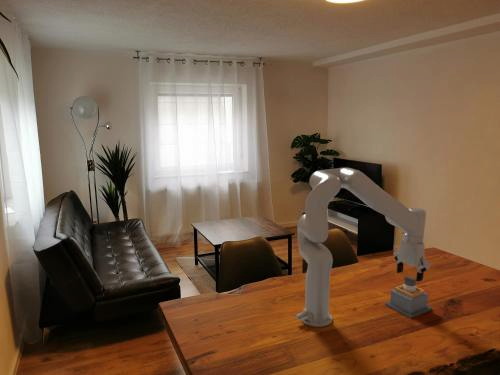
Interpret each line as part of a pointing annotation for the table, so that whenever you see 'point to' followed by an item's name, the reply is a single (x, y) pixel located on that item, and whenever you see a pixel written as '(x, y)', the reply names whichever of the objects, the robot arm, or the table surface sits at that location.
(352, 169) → the robot arm
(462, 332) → the table surface
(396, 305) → the grey square peg holder
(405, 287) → the gray and white capsule
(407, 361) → the table surface
